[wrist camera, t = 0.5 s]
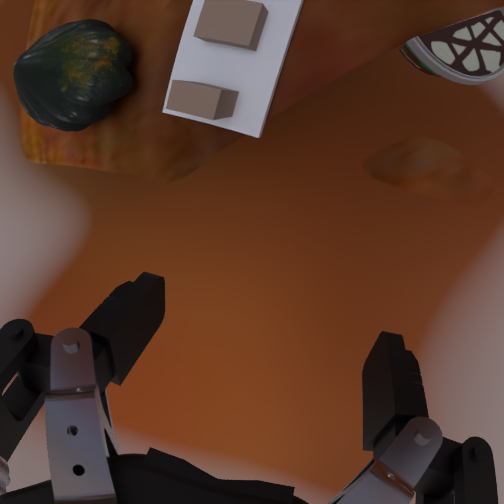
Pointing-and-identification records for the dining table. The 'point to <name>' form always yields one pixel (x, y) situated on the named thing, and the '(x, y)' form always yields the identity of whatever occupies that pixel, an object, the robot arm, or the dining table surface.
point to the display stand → (231, 62)
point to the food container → (461, 50)
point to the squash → (74, 75)
